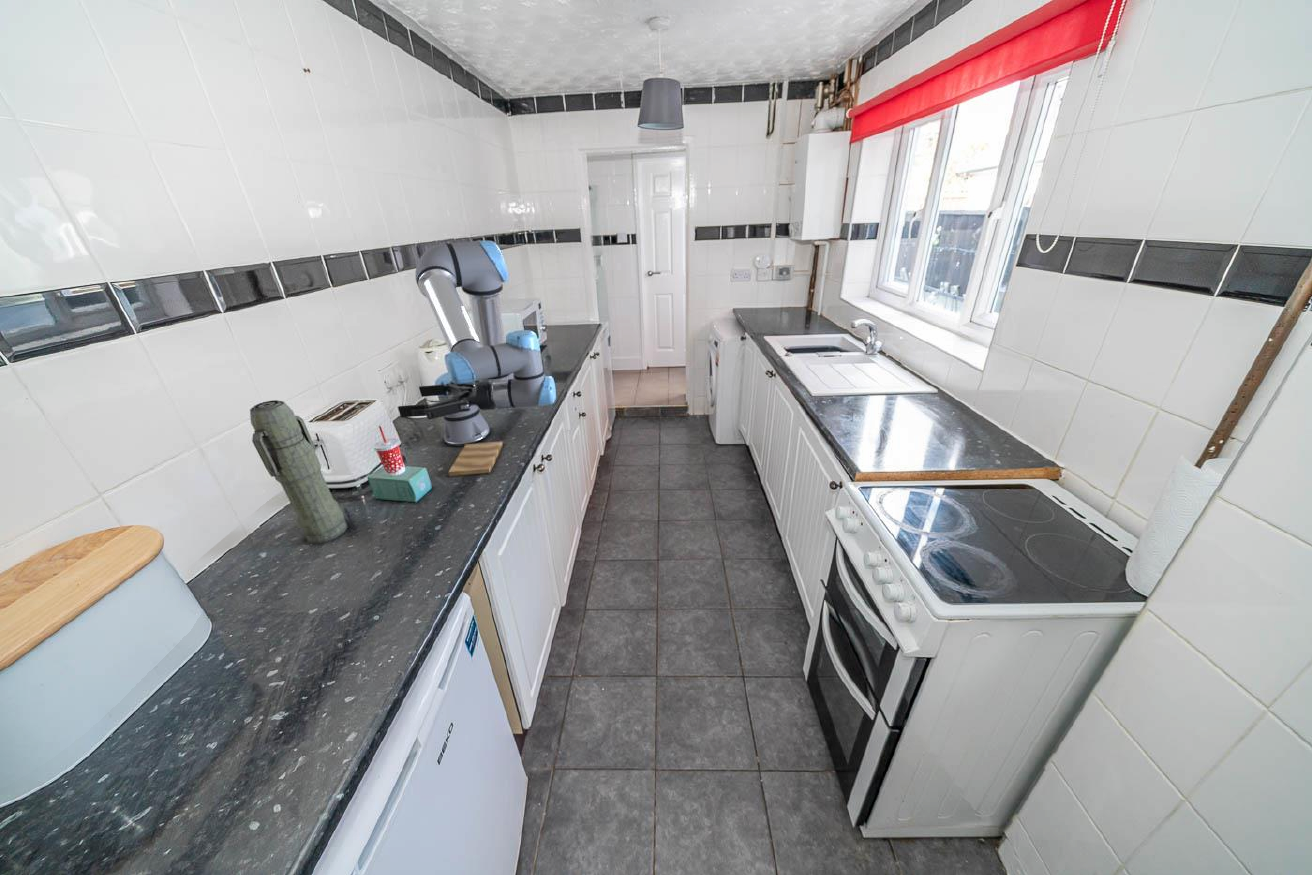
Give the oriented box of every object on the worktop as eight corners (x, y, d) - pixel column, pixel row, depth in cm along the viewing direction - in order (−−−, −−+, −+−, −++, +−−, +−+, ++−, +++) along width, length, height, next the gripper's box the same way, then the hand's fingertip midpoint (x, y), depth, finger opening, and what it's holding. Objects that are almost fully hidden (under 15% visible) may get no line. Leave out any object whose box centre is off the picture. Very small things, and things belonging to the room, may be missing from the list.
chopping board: (466, 448, 152) (465, 444, 151) (502, 445, 153) (501, 441, 152) (449, 476, 136) (448, 472, 135) (490, 472, 137) (488, 468, 136)
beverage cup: (389, 467, 128) (373, 422, 121) (411, 465, 128) (396, 420, 122) (379, 478, 122) (361, 432, 116) (403, 476, 122) (386, 430, 116)
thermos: (358, 516, 120) (305, 393, 104) (330, 546, 109) (267, 413, 93) (324, 518, 120) (266, 395, 104) (294, 548, 109) (224, 416, 93)
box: (417, 503, 124) (409, 479, 121) (374, 500, 127) (365, 477, 123) (433, 488, 130) (426, 466, 127) (393, 485, 133) (384, 463, 130)
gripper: (486, 428, 108) (394, 435, 107) (507, 390, 130) (431, 396, 129) (478, 399, 105) (384, 406, 104) (501, 365, 127) (424, 371, 126)
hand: (410, 401), depth 116 cm, fingers open, 13 cm apart
